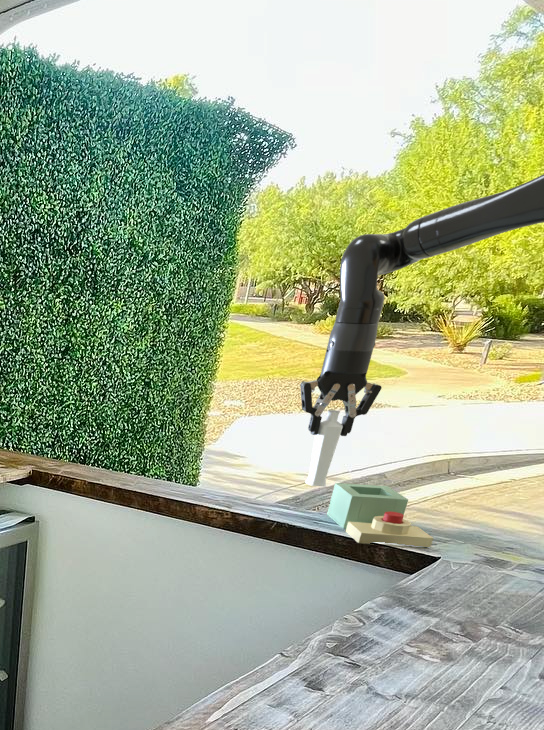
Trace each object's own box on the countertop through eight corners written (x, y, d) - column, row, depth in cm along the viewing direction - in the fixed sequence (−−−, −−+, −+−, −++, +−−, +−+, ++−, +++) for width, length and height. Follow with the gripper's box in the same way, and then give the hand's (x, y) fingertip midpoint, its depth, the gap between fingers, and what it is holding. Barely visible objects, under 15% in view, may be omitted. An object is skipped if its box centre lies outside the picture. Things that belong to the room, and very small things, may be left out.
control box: (413, 536, 150) (419, 517, 149) (430, 549, 144) (436, 529, 142) (345, 531, 153) (350, 512, 151) (358, 543, 147) (363, 523, 145)
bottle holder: (378, 518, 161) (388, 486, 158) (398, 533, 152) (408, 499, 149) (326, 514, 163) (335, 482, 160) (343, 529, 154) (352, 496, 152)
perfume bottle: (302, 479, 161) (320, 408, 155) (327, 482, 159) (345, 410, 153) (302, 485, 157) (320, 412, 151) (327, 488, 155) (346, 413, 149)
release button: (397, 520, 148) (400, 512, 147) (403, 525, 145) (406, 516, 145) (379, 519, 149) (382, 510, 148) (386, 524, 146) (388, 515, 145)
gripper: (384, 345, 149) (361, 432, 156) (302, 344, 152) (283, 429, 159) (400, 350, 142) (375, 440, 149) (315, 348, 146) (294, 436, 152)
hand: (328, 434), depth 154 cm, fingers closed on perfume bottle, 4 cm apart
